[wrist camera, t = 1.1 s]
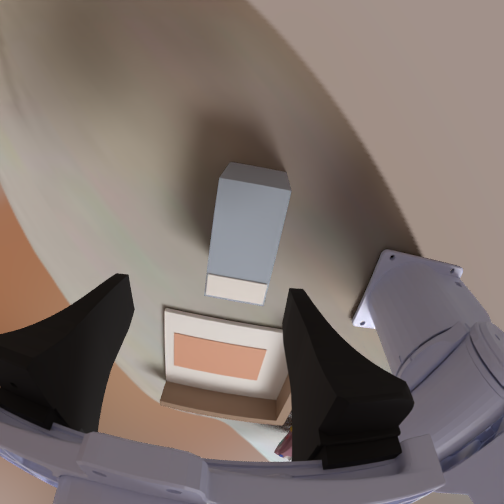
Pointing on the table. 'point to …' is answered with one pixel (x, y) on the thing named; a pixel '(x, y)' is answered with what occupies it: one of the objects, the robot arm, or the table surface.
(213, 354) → the tray
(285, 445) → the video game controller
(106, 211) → the table surface
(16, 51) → the table surface
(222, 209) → the slate block
